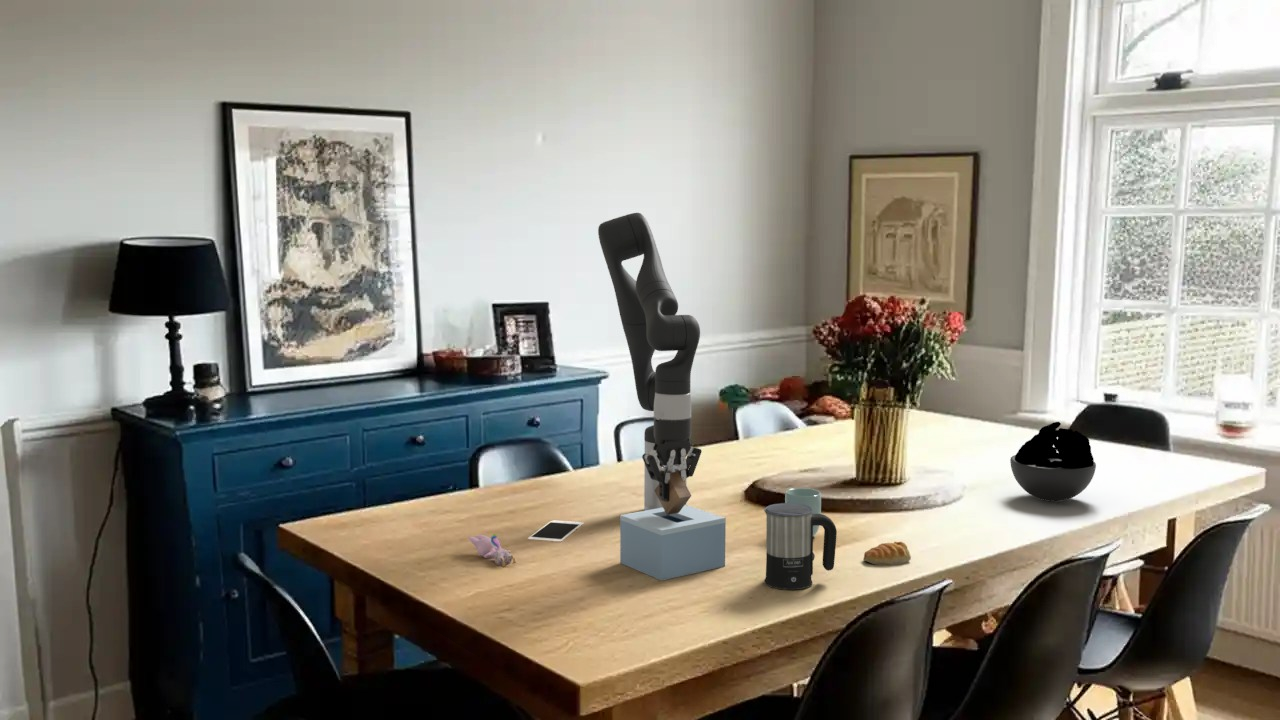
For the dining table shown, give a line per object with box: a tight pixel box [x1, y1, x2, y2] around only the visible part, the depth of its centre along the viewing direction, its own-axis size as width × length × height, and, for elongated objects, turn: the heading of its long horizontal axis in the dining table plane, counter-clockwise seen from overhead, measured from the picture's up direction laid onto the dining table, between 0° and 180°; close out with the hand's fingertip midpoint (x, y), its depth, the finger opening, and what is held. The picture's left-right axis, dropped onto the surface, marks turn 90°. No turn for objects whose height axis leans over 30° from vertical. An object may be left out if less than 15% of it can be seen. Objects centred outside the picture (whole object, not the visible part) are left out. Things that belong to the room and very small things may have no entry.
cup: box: [784, 487, 822, 537], centre depth 258 cm, size 8×8×10 cm
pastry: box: [863, 541, 912, 566], centre depth 240 cm, size 9×7×4 cm
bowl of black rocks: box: [1009, 421, 1097, 502], centre depth 290 cm, size 20×20×19 cm
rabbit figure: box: [467, 534, 517, 568], centre depth 241 cm, size 6×6×15 cm
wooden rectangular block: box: [654, 471, 692, 515], centre depth 235 cm, size 3×6×6 cm
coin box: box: [619, 504, 727, 581], centre depth 237 cm, size 16×14×10 cm
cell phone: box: [527, 519, 584, 543], centre depth 262 cm, size 8×16×1 cm, turn 164°
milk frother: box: [764, 502, 838, 591], centre depth 229 cm, size 14×16×15 cm
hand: (671, 499), depth 236 cm, fingers closed on wooden rectangular block, 2 cm apart
